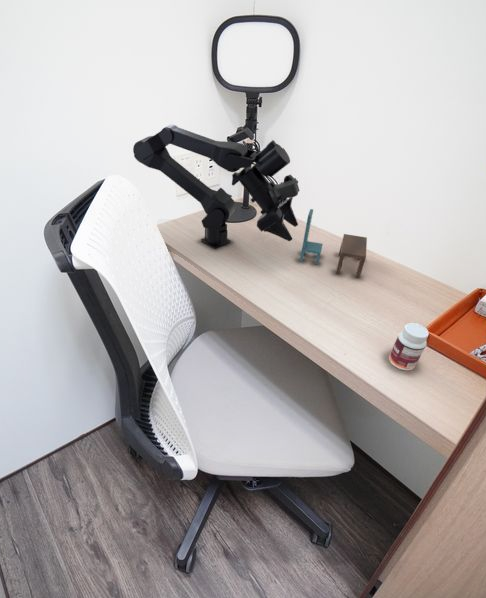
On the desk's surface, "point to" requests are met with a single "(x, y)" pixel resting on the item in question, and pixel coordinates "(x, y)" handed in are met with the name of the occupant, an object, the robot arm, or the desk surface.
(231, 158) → the robot arm
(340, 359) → the desk surface
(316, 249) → the chair
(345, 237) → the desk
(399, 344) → the pill bottle
